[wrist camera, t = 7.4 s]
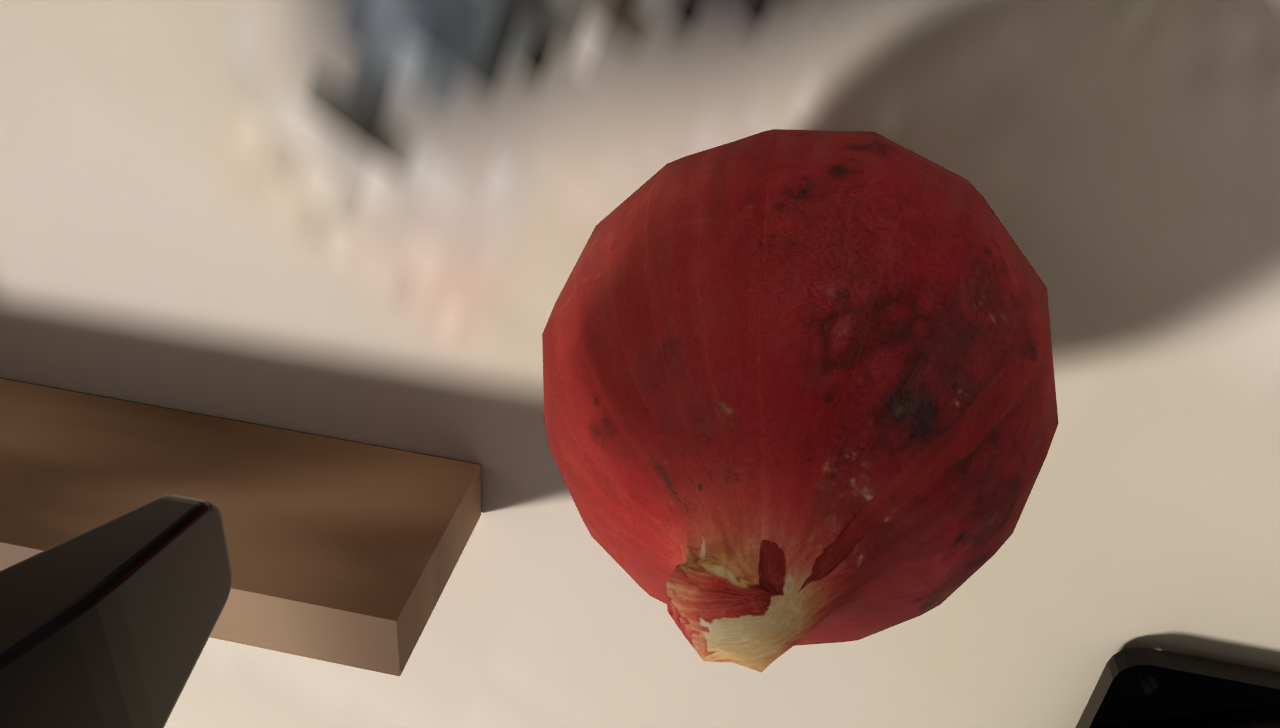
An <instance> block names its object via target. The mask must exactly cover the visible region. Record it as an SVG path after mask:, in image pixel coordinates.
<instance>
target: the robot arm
mask: <svg viewBox="0 0 1280 728" xmlns="http://www.w3.org/2000/svg"><path fill="white" fill-rule="evenodd" d="M231 585H232V569H231V564H230V558H229V553H228V547H227V542H226V536H225V531H224V525H223V520H222V515H221V512H220V510H219V509H218V507H217V506H216V505H215V504H214V503H211V502H210V501H206V500H201V499H196V498H190V497H185V496H179V495H165V496H162V497H159V498H157V499H154V500H152V501H150V502H148V503H146V504H144V505H142V506H139V507H137V508H135V509H133V510H131V511H129V512H126V513H124V514H122V515H120V516H118V517H116V518H114V519H111V520H109V521H107V522H105V523H103V524H101V525H98V526H96V527H94V528H92V529H90V530H88V531H86V532H83V533H81V534H79V535H77V536H75V537H73V538H71V539H68V540H66V541H64V542H62V543H60V544H58V545H55V546H53V547H51V548H49V549H47V550H45V551H43V552H40V553H38V554H36V555H34V556H32V557H30V558H27V559H25V560H23V561H21V562H19V563H17V564H15V565H12V566H10V567H8V568H6V569H4V570H2V571H0V728H164V726H165V724H166V722H167V720H168V718H169V716H170V714H171V712H172V710H173V708H174V706H175V704H176V702H177V700H178V698H179V696H180V694H181V692H182V690H183V688H184V686H185V684H186V682H187V680H188V678H189V676H190V674H191V672H192V670H193V668H194V666H195V664H196V662H197V660H198V658H199V656H200V654H201V652H202V650H203V648H204V646H205V644H206V642H207V640H208V638H209V636H210V634H211V632H212V630H213V628H214V626H215V624H216V622H217V620H218V618H219V616H220V614H221V612H222V610H223V608H224V606H225V604H226V602H227V600H228V597H229V594H230V590H231ZM1137 675H1146V676H1143V677H1140V678H1132V677H1135V676H1137ZM1076 728H1280V673H1277V672H1272V671H1267V670H1261V669H1256V668H1250V667H1245V666H1240V665H1234V664H1229V663H1224V662H1218V661H1213V660H1207V659H1202V658H1197V657H1191V656H1186V655H1181V654H1175V653H1170V652H1164V651H1159V650H1154V649H1148V648H1130V649H1125V650H1122V651H1120V652H1118V653H1116V654H1115V655H1113V656H1112V657H1111V659H1110V660H1109V661H1108V662H1107V664H1106V666H1105V668H1104V670H1103V672H1102V675H1101V677H1100V679H1099V681H1098V683H1097V685H1096V687H1095V689H1094V691H1093V693H1092V695H1091V697H1090V699H1089V701H1088V703H1087V706H1086V708H1085V710H1084V712H1083V714H1082V716H1081V718H1080V720H1079V722H1078V724H1077V726H1076Z"/></svg>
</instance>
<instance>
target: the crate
mask: <svg viewBox="0 0 1280 728" xmlns="http://www.w3.org/2000/svg"><path fill="white" fill-rule="evenodd" d="M165 495H179V496H185V497H190V498H196V499H201V500H206V501H210V502H211V503H214V504H215V505H216V506H217V507H218V509H219V510H220V512H221V515H222V520H223V525H224V531H225V536H226V542H227V547H228V553H229V558H230V564H231V569H232V585H231V590H230V594H229V597H228V600H227V602H226V604H225V606H224V608H223V610H222V612H221V614H220V616H219V618H218V620H217V622H216V624H215V626H214V628H213V630H212V632H211V634H210V636H209V637H211V638H216V639H221V640H226V641H231V642H236V643H241V644H245V645H250V646H255V647H260V648H265V649H270V650H275V651H279V652H284V653H289V654H294V655H299V656H304V657H309V658H314V659H318V660H323V661H328V662H333V663H338V664H343V665H348V666H352V667H357V668H362V669H367V670H372V671H377V672H382V673H386V674H391V675H396V676H400V675H401V673H402V671H403V669H404V667H405V665H406V663H407V661H408V659H409V657H410V655H411V653H412V651H413V649H414V647H415V645H416V643H417V641H418V639H419V637H420V635H421V633H422V631H423V629H424V627H425V625H426V623H427V621H428V619H429V617H430V615H431V613H432V611H433V609H434V607H435V605H436V603H437V601H438V599H439V597H440V595H441V593H442V591H443V589H444V587H445V585H446V583H447V581H448V579H449V577H450V575H451V573H452V571H453V569H454V567H455V565H456V563H457V561H458V559H459V557H460V555H461V553H462V551H463V549H464V547H465V546H466V544H467V542H468V540H469V538H470V536H471V534H472V532H473V530H474V528H475V526H476V524H477V522H478V520H479V518H480V516H481V465H479V464H474V463H468V462H463V461H457V460H451V459H446V458H440V457H435V456H429V455H424V454H418V453H412V452H407V451H401V450H396V449H390V448H384V447H379V446H373V445H368V444H362V443H357V442H351V441H345V440H340V439H334V438H329V437H323V436H318V435H312V434H306V433H301V432H295V431H290V430H284V429H279V428H273V427H267V426H262V425H256V424H251V423H245V422H240V421H234V420H228V419H223V418H217V417H212V416H206V415H201V414H195V413H189V412H184V411H178V410H173V409H167V408H162V407H156V406H150V405H145V404H139V403H134V402H128V401H123V400H117V399H111V398H106V397H100V396H95V395H89V394H83V393H78V392H72V391H67V390H61V389H56V388H50V387H44V386H39V385H33V384H28V383H22V382H17V381H11V380H5V379H0V571H2V570H4V569H6V568H8V567H10V566H12V565H15V564H17V563H19V562H21V561H23V560H25V559H27V558H30V557H32V556H34V555H36V554H38V553H40V552H43V551H45V550H47V549H49V548H51V547H53V546H55V545H58V544H60V543H62V542H64V541H66V540H68V539H71V538H73V537H75V536H77V535H79V534H81V533H83V532H86V531H88V530H90V529H92V528H94V527H96V526H98V525H101V524H103V523H105V522H107V521H109V520H111V519H114V518H116V517H118V516H120V515H122V514H124V513H126V512H129V511H131V510H133V509H135V508H137V507H139V506H142V505H144V504H146V503H148V502H150V501H152V500H154V499H157V498H159V497H162V496H165Z"/></svg>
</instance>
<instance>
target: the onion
mask: <svg viewBox="0 0 1280 728" xmlns="http://www.w3.org/2000/svg"><path fill="white" fill-rule="evenodd" d="M542 338H543V382H544V421H545V426H546V432H547V437H548V442H549V448H550V451H551V453H552V455H553V457H554V459H555V461H556V463H557V466H558V468H559V470H560V472H561V474H562V476H563V479H564V481H565V483H566V485H567V487H568V489H569V492H570V494H571V496H572V498H573V500H574V502H575V504H576V507H577V509H578V511H579V513H580V515H581V517H582V519H583V521H584V523H585V525H586V527H587V529H588V530H589V532H590V534H591V536H592V537H593V538H594V539H595V540H596V541H597V542H598V543H599V544H600V545H601V546H602V547H603V548H604V549H605V550H606V551H607V553H608V554H609V555H610V556H611V557H612V558H613V559H614V560H615V561H616V562H617V563H618V564H619V565H620V566H621V567H622V568H623V569H624V570H625V571H626V572H627V573H628V574H629V575H630V576H631V577H632V578H633V579H634V580H635V582H636V583H637V584H638V585H639V586H640V587H641V588H642V589H644V590H645V591H646V592H647V593H648V594H649V595H650V596H652V597H654V598H656V599H658V600H660V601H662V602H664V603H666V604H667V607H668V613H669V614H670V615H671V617H672V618H673V620H674V621H675V623H676V624H677V626H678V627H679V628H680V630H681V631H682V633H683V634H684V636H685V637H686V638H687V640H688V641H689V642H690V644H691V645H692V646H693V648H694V649H695V650H696V651H697V653H698V654H699V655H700V657H701V658H702V659H703V661H715V662H733V663H736V664H739V665H742V666H745V667H748V668H751V669H754V670H757V671H760V672H762V671H763V670H764V669H765V668H766V667H767V666H768V665H770V664H771V663H772V662H773V661H774V660H775V659H777V658H778V657H779V656H781V655H782V654H783V653H785V652H786V651H787V650H788V649H790V648H791V647H792V646H794V645H807V644H821V643H835V642H846V641H854V640H859V639H862V638H864V637H867V636H869V635H872V634H874V633H877V632H879V631H882V630H885V629H887V628H890V627H892V626H895V625H897V624H900V623H902V622H905V621H907V620H910V619H912V618H915V617H917V616H920V615H922V614H924V613H926V612H927V611H929V610H931V609H933V608H935V607H936V606H938V605H940V604H941V603H942V602H943V601H944V600H946V599H947V598H948V597H949V596H950V595H951V594H952V593H953V592H954V591H955V590H956V589H957V588H959V587H960V586H961V585H962V584H963V583H964V582H965V581H966V580H967V579H968V578H969V577H970V576H972V575H973V574H974V573H975V572H976V571H977V570H978V569H979V568H980V567H981V566H982V565H983V564H985V563H986V562H987V561H988V560H989V559H990V558H991V557H992V556H993V555H994V554H995V553H996V552H997V551H998V549H999V548H1000V547H1001V546H1002V545H1003V544H1004V543H1005V541H1006V540H1007V539H1008V538H1009V537H1010V536H1011V534H1012V533H1013V531H1014V529H1015V527H1016V524H1017V522H1018V520H1019V517H1020V515H1021V513H1022V511H1023V508H1024V506H1025V504H1026V501H1027V499H1028V497H1029V495H1030V492H1031V490H1032V488H1033V485H1034V483H1035V481H1036V479H1037V476H1038V474H1039V472H1040V470H1041V467H1042V465H1043V463H1044V460H1045V458H1046V456H1047V453H1048V450H1049V447H1050V445H1051V442H1052V439H1053V436H1054V434H1055V431H1056V428H1057V425H1058V415H1057V403H1056V392H1055V380H1054V368H1053V356H1052V344H1051V333H1050V321H1049V309H1048V297H1047V288H1046V286H1045V285H1044V283H1043V282H1042V280H1041V279H1040V278H1039V276H1038V275H1037V273H1036V272H1035V270H1034V269H1033V268H1032V266H1031V265H1030V263H1029V262H1028V260H1027V259H1026V258H1025V256H1024V255H1023V253H1022V252H1021V250H1020V249H1019V248H1018V246H1017V245H1016V243H1015V242H1014V240H1013V239H1012V237H1011V236H1010V235H1009V233H1008V232H1007V230H1006V229H1005V227H1004V226H1003V225H1002V223H1001V222H1000V220H999V219H998V217H997V216H996V215H995V213H994V212H993V210H992V209H991V207H990V206H989V205H988V203H987V202H986V200H985V199H984V197H983V196H982V195H981V194H980V193H979V192H978V191H977V190H976V189H975V188H974V187H973V186H972V184H971V183H970V182H969V181H968V180H966V179H964V178H962V177H960V176H958V175H956V174H954V173H952V172H951V171H949V170H947V169H945V168H943V167H941V166H939V165H937V164H935V163H933V162H931V161H929V160H927V159H925V158H923V157H921V156H919V155H917V154H916V153H914V152H912V151H910V150H908V149H906V148H904V147H902V146H900V145H898V144H896V143H894V142H892V141H890V140H888V139H886V138H884V137H882V136H881V135H879V134H877V133H875V132H853V131H815V130H778V129H773V130H769V131H764V132H761V133H758V134H755V135H752V136H749V137H746V138H743V139H740V140H737V141H734V142H731V143H728V144H725V145H721V146H718V147H715V148H712V149H708V150H705V151H702V152H699V153H695V154H692V155H689V156H686V157H683V158H681V159H678V160H676V161H673V162H671V163H668V164H666V165H665V166H664V167H663V168H662V169H661V170H660V171H658V172H657V173H656V174H655V175H654V176H653V177H651V178H650V179H649V180H648V181H647V182H646V183H645V184H643V185H642V186H641V187H640V188H639V189H638V190H637V191H635V192H634V193H633V194H632V195H631V196H630V197H629V198H627V199H626V200H625V201H624V202H623V203H622V204H620V205H619V206H618V207H617V208H616V209H615V210H614V211H612V212H611V213H610V214H609V215H608V216H607V217H606V218H604V219H603V220H602V221H601V222H600V223H599V224H597V225H596V227H595V229H594V231H593V232H592V234H591V236H590V238H589V240H588V242H587V244H586V246H585V248H584V250H583V252H582V253H581V255H580V257H579V259H578V261H577V263H576V265H575V267H574V269H573V271H572V273H571V274H570V276H569V278H568V280H567V282H566V284H565V286H564V288H563V290H562V292H561V294H560V295H559V297H558V299H557V301H556V303H555V305H554V308H553V310H552V312H551V315H550V317H549V320H548V322H547V325H546V327H545V329H544V332H543V334H542Z"/></svg>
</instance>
